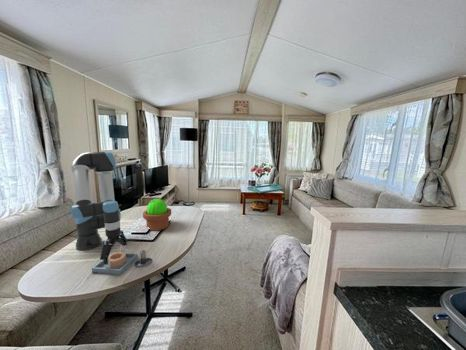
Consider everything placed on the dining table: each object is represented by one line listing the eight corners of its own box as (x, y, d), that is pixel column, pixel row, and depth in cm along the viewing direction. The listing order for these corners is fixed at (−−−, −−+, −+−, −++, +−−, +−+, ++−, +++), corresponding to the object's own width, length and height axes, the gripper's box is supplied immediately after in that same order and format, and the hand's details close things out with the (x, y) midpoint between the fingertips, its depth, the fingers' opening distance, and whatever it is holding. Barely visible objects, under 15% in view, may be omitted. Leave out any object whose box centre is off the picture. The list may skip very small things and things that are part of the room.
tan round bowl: (115, 258, 128) (114, 251, 127) (129, 260, 127) (128, 252, 126) (103, 268, 119) (102, 260, 118) (118, 269, 118) (118, 261, 117)
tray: (113, 256, 133) (112, 251, 132) (138, 258, 131) (137, 253, 130) (92, 272, 116) (91, 268, 116) (120, 275, 114) (119, 270, 113)
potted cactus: (175, 222, 186) (174, 195, 182) (163, 233, 165) (162, 203, 160) (153, 220, 190) (151, 194, 185) (138, 230, 168) (136, 201, 164)
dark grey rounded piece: (140, 257, 131) (139, 247, 129) (155, 259, 130) (154, 248, 128) (131, 267, 121) (130, 255, 120) (147, 269, 120) (146, 257, 118)
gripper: (121, 219, 132) (123, 249, 136) (89, 237, 107) (93, 274, 111) (132, 219, 131) (134, 250, 135) (102, 238, 107) (106, 275, 110)
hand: (116, 261), depth 123 cm, fingers open, 13 cm apart
